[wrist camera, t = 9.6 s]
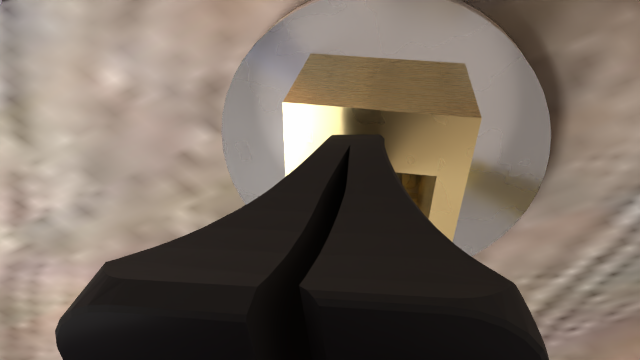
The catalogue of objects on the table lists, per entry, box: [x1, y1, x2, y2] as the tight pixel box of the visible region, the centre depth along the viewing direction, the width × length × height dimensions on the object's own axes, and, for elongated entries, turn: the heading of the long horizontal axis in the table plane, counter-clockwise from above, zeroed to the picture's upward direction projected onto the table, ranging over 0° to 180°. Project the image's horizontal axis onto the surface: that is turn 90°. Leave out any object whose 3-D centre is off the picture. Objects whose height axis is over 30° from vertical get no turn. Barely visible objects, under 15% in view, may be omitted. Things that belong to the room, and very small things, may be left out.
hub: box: [222, 0, 551, 256], centre depth 16 cm, size 12×12×4 cm
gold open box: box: [283, 53, 482, 242], centre depth 15 cm, size 5×7×4 cm
